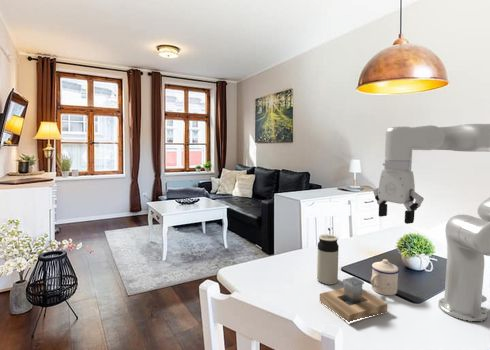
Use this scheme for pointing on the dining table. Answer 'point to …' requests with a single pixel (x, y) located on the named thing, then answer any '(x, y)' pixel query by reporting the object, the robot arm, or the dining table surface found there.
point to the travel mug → (327, 259)
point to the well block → (356, 311)
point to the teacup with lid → (384, 277)
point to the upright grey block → (352, 290)
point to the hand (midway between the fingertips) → (395, 219)
